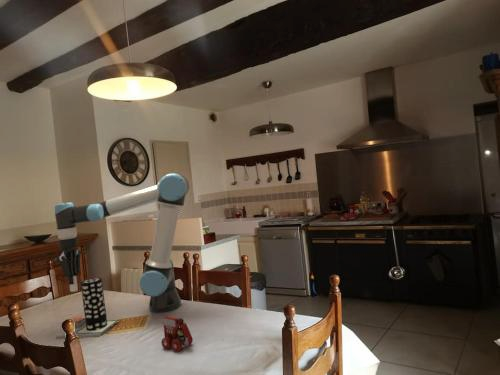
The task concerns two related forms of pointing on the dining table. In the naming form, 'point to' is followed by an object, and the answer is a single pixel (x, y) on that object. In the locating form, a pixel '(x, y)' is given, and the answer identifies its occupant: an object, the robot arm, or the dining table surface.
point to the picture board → (82, 332)
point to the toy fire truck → (175, 334)
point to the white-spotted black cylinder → (94, 304)
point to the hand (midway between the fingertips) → (74, 290)
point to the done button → (78, 319)
